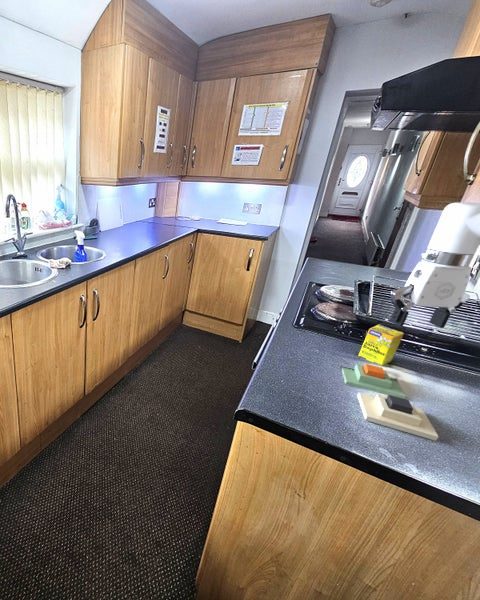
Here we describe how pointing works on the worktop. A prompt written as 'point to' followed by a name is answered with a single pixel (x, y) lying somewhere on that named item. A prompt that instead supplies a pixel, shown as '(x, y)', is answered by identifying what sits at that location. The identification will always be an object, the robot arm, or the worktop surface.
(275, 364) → the worktop surface
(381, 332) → the supplement box
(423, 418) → the cream flat stepped block
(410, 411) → the key
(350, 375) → the green flat stepped block
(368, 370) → the key
